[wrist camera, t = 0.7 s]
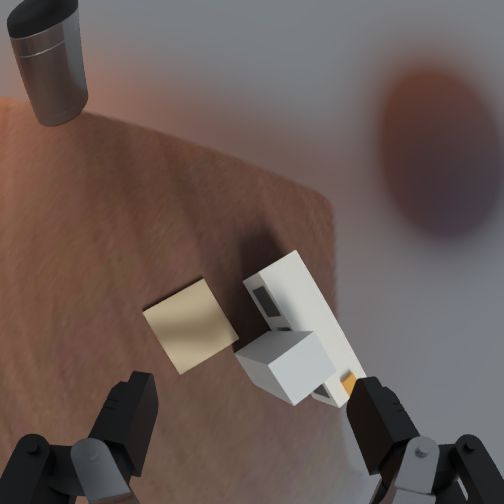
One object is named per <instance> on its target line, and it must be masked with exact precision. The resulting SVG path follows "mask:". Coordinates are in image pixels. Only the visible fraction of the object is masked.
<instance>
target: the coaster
mask: <svg viewBox="0 0 504 504" xmlns="http://www.w3.org/2000/svg"><path fill="white" fill-rule="evenodd" d="M143 314H144V316H145V317H146V319H147V321H148V323H149V325H150V326H151V328H152V330H153V331H154V333H155V335H156V337H157V338H158V340H159V342H160V343H161V345H162V347H163V348H164V350H165V352H166V353H167V355H168V356H169V358H170V360H171V361H172V363H173V364H174V366H175V367H176V369H177V370H178V372H179V374H182V373H184V372H185V371H187V370H189V369H191V368H192V367H194V366H196V365H197V364H199V363H201V362H202V361H204V360H206V359H207V358H209V357H211V356H212V355H214V354H216V353H217V352H219V351H220V350H222V349H224V348H225V347H227V346H228V345H230V344H232V343H233V342H235V341H236V340H238V339H239V337H238V335H237V334H236V332H235V331H234V329H233V327H232V326H231V324H230V322H229V321H228V319H227V317H226V316H225V314H224V312H223V311H222V309H221V307H220V306H219V304H218V302H217V301H216V299H215V297H214V296H213V294H212V292H211V290H210V289H209V287H208V285H207V283H206V282H205V280H204V279H202V280H200V281H198V282H197V283H195V284H193V285H191V286H189V287H188V288H186V289H184V290H182V291H180V292H179V293H177V294H175V295H173V296H171V297H169V298H168V299H166V300H164V301H162V302H160V303H159V304H157V305H155V306H153V307H151V308H150V309H148V310H146V311H144V312H143Z"/></svg>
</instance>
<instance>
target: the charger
mask: <svg viewBox="0 0 504 504" xmlns="http://www.w3.org/2000/svg"><path fill="white" fill-rule="evenodd" d="M234 355H235V356H236V358H237V359H238V361H239V362H240V364H241V365H242V367H243V368H244V370H245V372H246V373H247V375H248V376H249V378H250V379H251V381H252V382H253V384H255V385H257V386H258V387H260V388H262V389H264V390H266V391H267V392H269V393H271V394H273V395H275V396H277V397H278V398H280V399H282V400H284V401H286V402H288V403H290V404H292V405H294V406H295V405H296V404H297V403H298V402H300V401H301V400H302V399H304V398H305V397H306V396H307V395H309V394H310V393H311V392H312V391H314V390H315V389H316V388H317V387H318V386H320V385H321V384H322V383H323V382H324V381H326V380H327V379H328V378H329V377H330V376H332V375H333V374H334V373H335V372H336V371H337V370H336V369H335V367H334V365H333V363H332V362H331V360H330V358H329V356H328V355H327V353H326V351H325V349H324V348H323V346H322V344H321V342H320V341H319V339H318V337H317V336H316V334H315V332H314V331H291V329H289V330H288V331H267V332H266V333H264V334H263V335H261V336H260V337H258V338H257V339H255V340H254V341H252V342H251V343H249V344H248V345H246V346H245V347H243V348H242V349H240V350H239V351H237V352H235V353H234Z"/></svg>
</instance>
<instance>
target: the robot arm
mask: <svg viewBox="0 0 504 504" xmlns="http://www.w3.org/2000/svg"><path fill="white" fill-rule="evenodd" d="M7 28H8V32H9V36H10V40H11V44H12V48H13V51H14V55H15V58H16V61H17V64H18V68H19V71H20V74H21V77H22V80H23V83H24V86H25V89H26V91H27V94H28V97H29V99H30V102H31V105H32V107H33V110H34V112H35V115H36V117H37V119H38V121H39V122H40V123H41V124H43V125H45V126H56V125H60V124H63V123H65V122H67V121H69V120H71V119H72V118H74V117H75V116H77V115H78V114H79V113H80V112H81V111H82V109H83V108H84V107H85V105H86V103H87V100H88V91H87V86H86V79H85V72H84V65H83V58H82V49H81V40H80V29H79V17H78V0H24V1H23V2H22V3H20V4H19V5H18V6H17V7H16V8H15V9H14V10H13V11H12V12H11V13H10V15H9V17H8V19H7ZM346 412H347V417H348V419H349V422H350V425H351V427H352V430H353V433H354V435H355V438H356V440H357V443H358V445H359V448H360V450H361V453H362V456H363V458H364V461H365V464H366V466H367V469H368V472H369V474H370V476H371V475H375V474H379V473H380V475H381V477H382V478H381V479H380V481H379V483H378V485H377V487H376V489H375V492H374V494H373V496H372V498H371V500H370V502H369V504H504V480H503V478H502V476H501V474H500V472H499V471H498V469H497V467H496V465H495V464H494V462H493V460H492V459H491V457H490V455H489V453H488V452H487V450H486V449H485V447H484V445H483V444H482V442H481V441H480V440H479V438H477V437H476V436H474V435H470V434H467V435H463V436H461V437H460V438H459V439H458V440H457V441H456V443H455V444H444V445H437V443H436V442H435V441H434V440H432V439H430V438H428V437H424V436H420V434H419V433H418V431H417V430H416V428H415V426H414V424H413V422H412V421H411V419H410V417H409V416H408V414H407V412H406V411H404V408H403V406H402V404H400V401H399V399H398V398H397V396H396V394H395V393H394V392H392V391H391V390H390V389H389V388H387V387H382V385H381V384H380V382H379V380H378V379H377V378H376V377H365V378H358V379H357V380H356V382H355V385H354V387H353V390H352V393H351V395H350V398H349V400H348V403H347V408H346ZM157 414H158V397H157V392H156V386H155V381H154V376H153V374H151V373H145V372H138V371H133V372H132V374H131V376H130V379H129V381H128V382H122V381H120V382H119V383H118V384H117V385H115V386H114V387H113V388H112V389H111V391H110V393H109V395H108V397H107V400H106V401H105V403H104V405H103V408H102V409H101V411H100V413H99V415H98V417H97V419H96V422H95V424H94V426H93V428H92V430H91V432H90V434H89V436H88V438H85V439H81V440H79V441H78V442H76V443H75V444H74V445H73V446H60V445H49V443H48V442H47V440H46V439H45V438H44V437H42V436H40V435H38V434H28V435H25V436H23V437H22V438H21V439H20V440H19V442H18V443H17V445H16V447H15V449H14V451H13V453H12V455H11V457H10V459H9V461H8V463H7V466H6V468H5V470H4V472H3V474H2V476H1V479H0V504H75V501H76V498H77V496H86V498H87V500H88V502H89V504H140V502H139V501H138V499H137V497H136V496H135V494H134V492H133V491H132V489H131V487H130V485H129V482H130V479H131V476H136V477H141V473H142V469H143V465H144V461H145V457H146V453H147V450H148V446H149V442H150V439H151V435H152V431H153V428H154V424H155V421H156V417H157ZM459 478H460V479H461V481H462V483H463V485H464V487H465V489H466V491H467V493H468V500H466V498H465V496H464V494H463V492H462V490H461V487H460V485H459V483H458V481H457V480H458V479H459Z"/></svg>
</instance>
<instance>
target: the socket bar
mask: <svg viewBox="0 0 504 504" xmlns="http://www.w3.org/2000/svg"><path fill="white" fill-rule="evenodd" d="M242 282H243V284H244V285H245V287H246V289H247V290H248V292H249V294H250V295H251V297H252V299H253V300H254V302H255V304H256V305H257V307H258V309H259V310H260V312H261V314H262V315H263V317H264V319H265V320H266V322H267V324H268V325H269V327H270V329H271V330H272V331H288V330H289V329H291V331H314V332H315V334H316V336H317V337H318V339H319V341H320V342H321V344H322V346H323V348H324V349H325V351H326V353H327V355H328V356H329V358H330V360H331V362H332V363H333V365H334V367H335V369H336V370H337V371H336V372H335V373H334V374H333V375H332V376H330V377H329V378H328V379H327V380H326V381H324V382H323V383H322V384H321V385H320V386H318V387H317V388H316V389H315V390H314V391H312V392H311V395H312V397H313V398H314V399H317V400H320V401H322V402H325V403H328V404H330V405H333V406H336V407H339V408H340V407H341V406H342V405H343V404H344V403H345V402H346V401H347V400H348V399H349V398H350V395H351V393H352V390H353V387H354V385H355V382H356V380H357V379H358V378H365V377H366V375H365V373H364V371H363V369H362V367H361V365H360V363H359V362H358V360H357V358H356V356H355V354H354V352H353V350H352V348H351V346H350V344H349V343H348V341H347V339H346V337H345V335H344V333H343V332H342V330H341V328H340V326H339V324H338V323H337V321H336V319H335V317H334V315H333V314H332V312H331V310H330V308H329V306H328V305H327V303H326V301H325V299H324V298H323V296H322V294H321V292H320V290H319V289H318V287H317V285H316V284H315V282H314V280H313V278H312V277H311V275H310V273H309V271H308V270H307V268H306V266H305V265H304V263H303V261H302V259H301V258H300V256H299V254H298V253H297V251H296V250H295V251H293V252H291V253H290V254H288V255H286V256H285V257H283V258H281V259H280V260H278V261H276V262H274V263H273V264H271V265H269V266H268V267H266V268H264V269H263V270H261V271H259V272H258V273H256V274H254V275H252V276H251V277H249V278H247V279H246V280H244V281H242Z"/></svg>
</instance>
